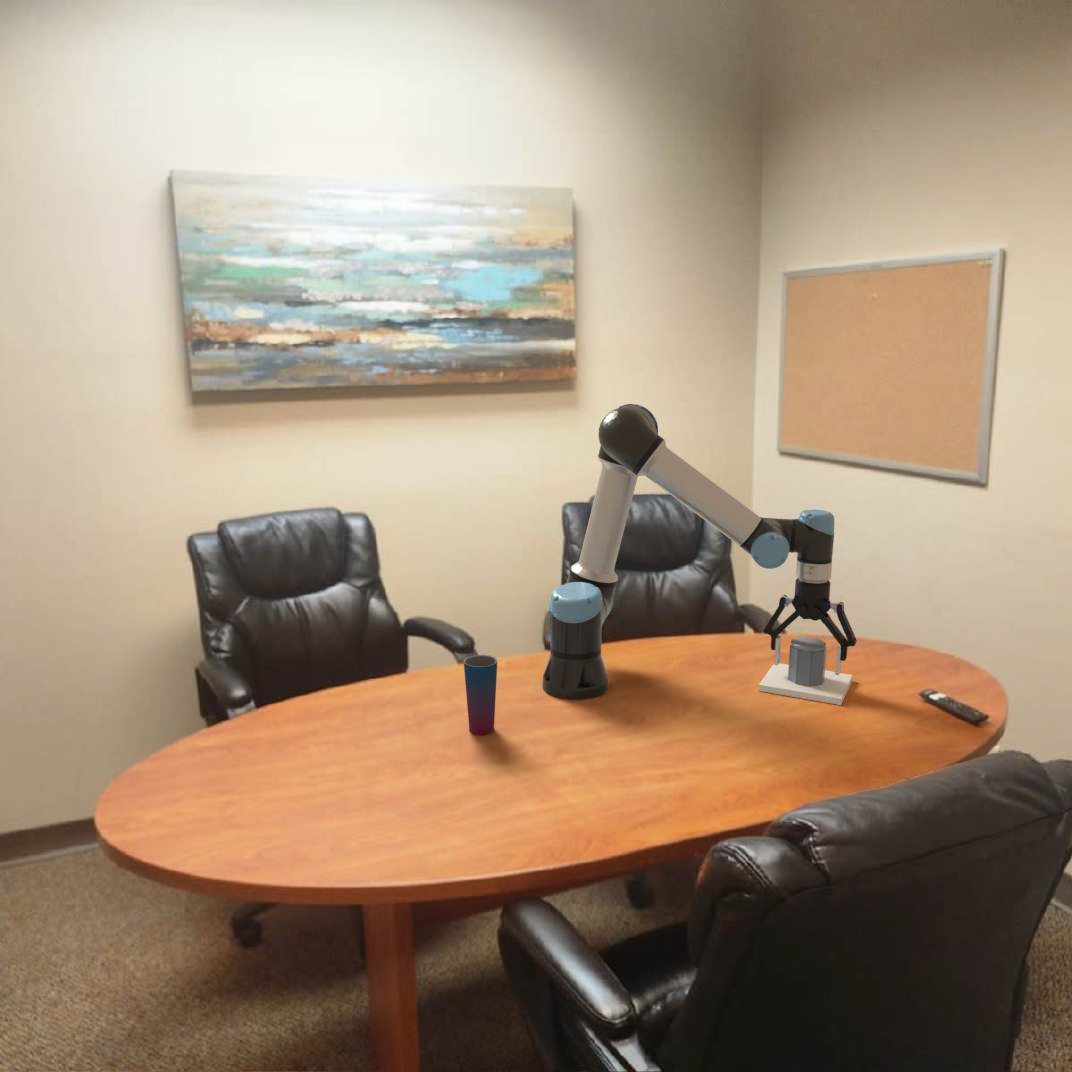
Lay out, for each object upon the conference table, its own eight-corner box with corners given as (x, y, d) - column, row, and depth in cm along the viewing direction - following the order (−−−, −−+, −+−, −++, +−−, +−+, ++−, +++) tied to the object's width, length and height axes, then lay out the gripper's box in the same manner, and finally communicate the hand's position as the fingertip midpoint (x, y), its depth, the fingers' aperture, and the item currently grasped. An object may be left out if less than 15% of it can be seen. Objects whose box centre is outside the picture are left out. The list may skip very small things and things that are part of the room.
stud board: (758, 690, 201) (760, 659, 199) (774, 668, 215) (776, 639, 213) (841, 705, 193) (843, 672, 191) (852, 680, 207) (854, 650, 205)
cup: (458, 733, 179) (457, 663, 176) (476, 720, 185) (475, 652, 182) (487, 739, 176) (486, 668, 173) (504, 727, 182) (503, 658, 179)
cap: (785, 682, 202) (788, 644, 200) (792, 671, 208) (794, 635, 207) (820, 688, 198) (822, 650, 197) (825, 676, 205) (828, 640, 203)
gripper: (753, 576, 201) (748, 664, 205) (869, 590, 189) (862, 683, 194) (761, 569, 207) (756, 654, 212) (874, 581, 196) (866, 672, 201)
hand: (807, 668), depth 203 cm, fingers open, 13 cm apart
